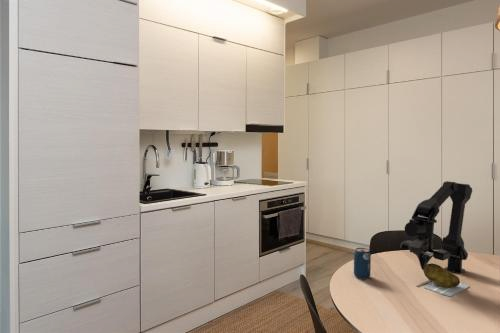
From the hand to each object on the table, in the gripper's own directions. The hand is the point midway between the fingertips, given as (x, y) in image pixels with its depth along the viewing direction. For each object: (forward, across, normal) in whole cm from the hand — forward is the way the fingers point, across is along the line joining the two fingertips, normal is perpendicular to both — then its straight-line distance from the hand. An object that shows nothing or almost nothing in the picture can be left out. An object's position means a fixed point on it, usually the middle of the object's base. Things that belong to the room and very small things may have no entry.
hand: (422, 269), depth 155 cm
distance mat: (+4, +10, +1) cm, 11 cm away
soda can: (+6, -17, -18) cm, 25 cm away
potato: (+4, +8, 0) cm, 9 cm away
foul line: (+4, +3, 0) cm, 5 cm away
